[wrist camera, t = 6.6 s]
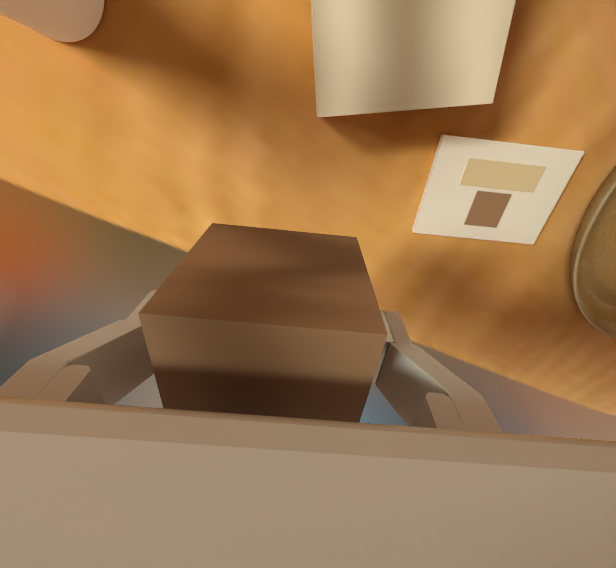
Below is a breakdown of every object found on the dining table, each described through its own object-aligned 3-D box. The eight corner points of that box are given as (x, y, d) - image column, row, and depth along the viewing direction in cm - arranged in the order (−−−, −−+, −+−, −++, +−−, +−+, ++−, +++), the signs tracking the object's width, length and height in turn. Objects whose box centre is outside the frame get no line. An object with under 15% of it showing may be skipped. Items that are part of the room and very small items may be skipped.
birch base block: (486, -108, 15) (559, -197, 10) (452, 103, 19) (492, 103, 15) (306, -89, 15) (305, -166, 11) (316, 114, 20) (318, 117, 15)
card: (579, 150, 20) (585, 151, 20) (529, 241, 24) (534, 244, 24) (441, 134, 20) (444, 135, 19) (411, 230, 24) (414, 233, 23)
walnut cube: (356, 237, 10) (387, 334, 6) (335, 342, 13) (346, 461, 9) (212, 223, 10) (138, 313, 6) (220, 332, 13) (174, 449, 8)
